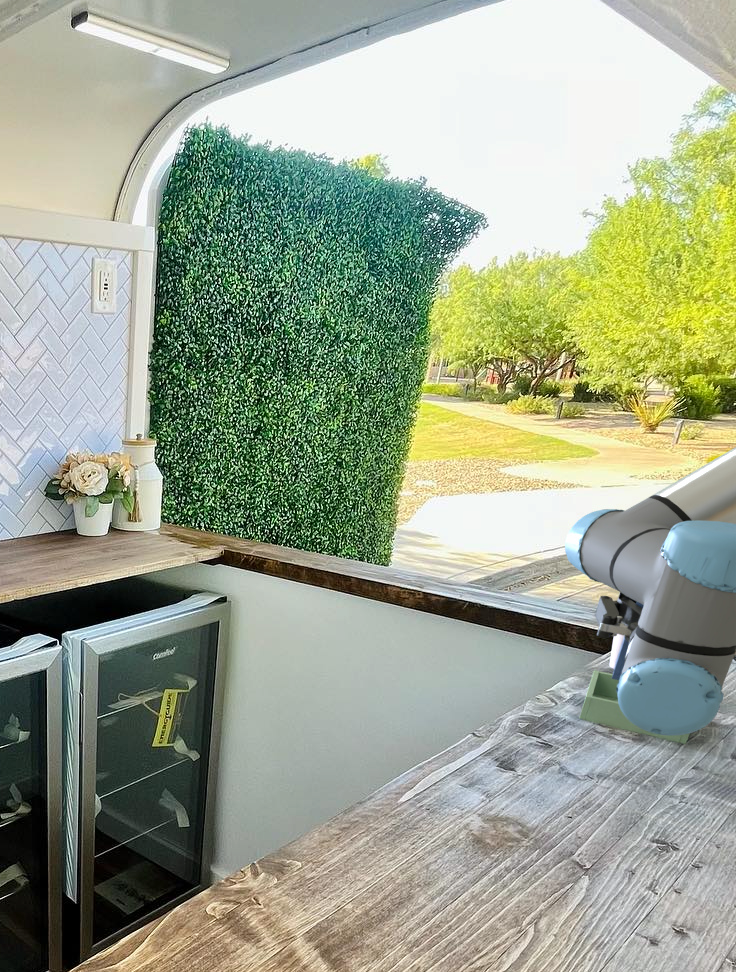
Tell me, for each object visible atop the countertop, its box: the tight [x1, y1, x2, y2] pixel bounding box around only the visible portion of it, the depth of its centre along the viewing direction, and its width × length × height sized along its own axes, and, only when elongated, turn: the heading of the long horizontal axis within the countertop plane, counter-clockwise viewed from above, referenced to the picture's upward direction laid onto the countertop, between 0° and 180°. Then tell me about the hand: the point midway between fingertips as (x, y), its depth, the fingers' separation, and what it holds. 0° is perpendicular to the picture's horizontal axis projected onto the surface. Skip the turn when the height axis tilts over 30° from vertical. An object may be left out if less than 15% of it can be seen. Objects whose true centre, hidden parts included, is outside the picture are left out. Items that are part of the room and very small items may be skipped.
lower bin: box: [578, 669, 691, 745], centre depth 110 cm, size 12×12×4 cm
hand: (676, 602), depth 98 cm, fingers closed on upper bin, 8 cm apart
